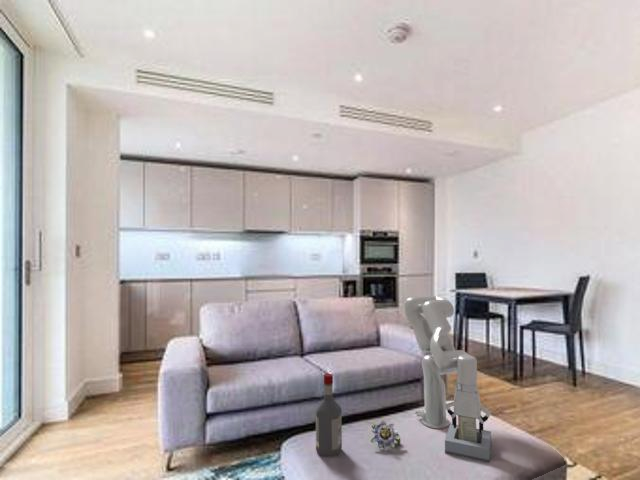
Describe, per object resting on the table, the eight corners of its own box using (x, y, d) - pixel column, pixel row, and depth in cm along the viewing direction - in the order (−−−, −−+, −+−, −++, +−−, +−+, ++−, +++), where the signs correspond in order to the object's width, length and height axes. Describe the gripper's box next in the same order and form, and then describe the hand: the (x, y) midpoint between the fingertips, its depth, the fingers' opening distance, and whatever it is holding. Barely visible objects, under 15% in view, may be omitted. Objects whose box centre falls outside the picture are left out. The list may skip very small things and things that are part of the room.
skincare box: (474, 443, 157) (473, 412, 157) (477, 448, 152) (476, 417, 153) (458, 442, 157) (457, 412, 158) (460, 447, 153) (460, 416, 153)
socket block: (444, 453, 151) (444, 440, 151) (450, 435, 165) (450, 423, 165) (489, 462, 144) (489, 449, 144) (491, 443, 158) (490, 431, 158)
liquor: (343, 447, 156) (342, 372, 157) (336, 458, 148) (335, 379, 149) (321, 443, 159) (321, 370, 160) (314, 454, 151) (313, 377, 152)
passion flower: (385, 463, 154) (370, 442, 151) (378, 445, 164) (363, 425, 162) (408, 447, 154) (393, 426, 151) (399, 430, 164) (385, 410, 162)
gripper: (443, 386, 156) (444, 428, 156) (490, 393, 148) (490, 438, 148) (446, 380, 163) (446, 421, 162) (490, 387, 155) (491, 429, 155)
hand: (467, 429), depth 155 cm, fingers open, 9 cm apart
